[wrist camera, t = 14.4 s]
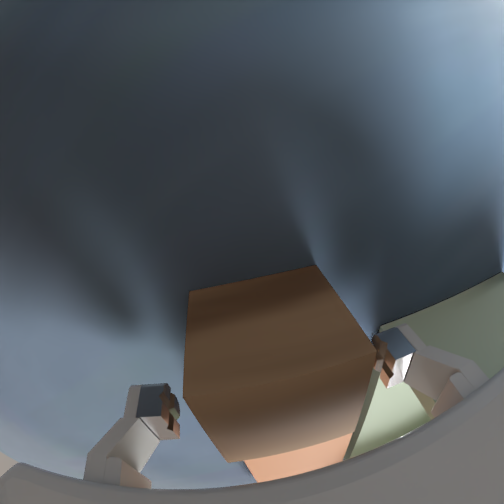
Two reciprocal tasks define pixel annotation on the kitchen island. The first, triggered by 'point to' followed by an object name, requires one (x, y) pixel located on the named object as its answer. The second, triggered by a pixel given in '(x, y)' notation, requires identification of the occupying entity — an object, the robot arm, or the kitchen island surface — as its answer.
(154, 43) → the kitchen island surface
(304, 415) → the walnut block
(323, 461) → the board
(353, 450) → the box
